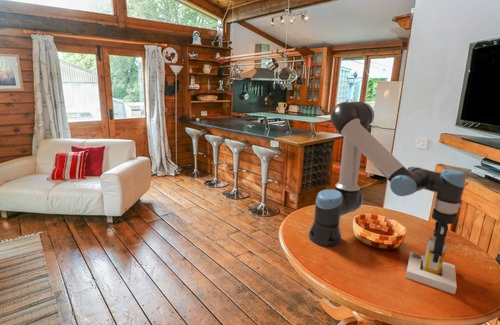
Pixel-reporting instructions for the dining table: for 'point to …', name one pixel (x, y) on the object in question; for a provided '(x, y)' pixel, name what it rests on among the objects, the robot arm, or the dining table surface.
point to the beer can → (428, 257)
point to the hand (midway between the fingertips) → (433, 259)
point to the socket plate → (441, 282)
